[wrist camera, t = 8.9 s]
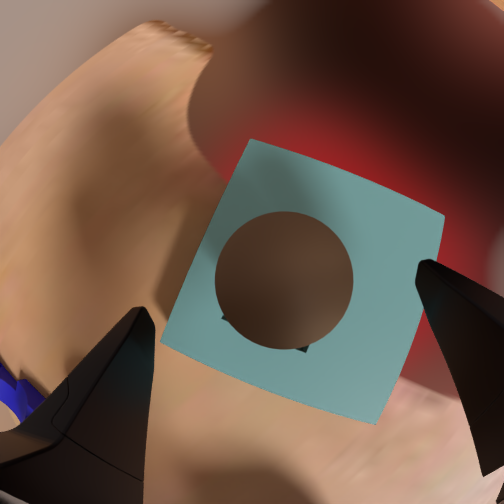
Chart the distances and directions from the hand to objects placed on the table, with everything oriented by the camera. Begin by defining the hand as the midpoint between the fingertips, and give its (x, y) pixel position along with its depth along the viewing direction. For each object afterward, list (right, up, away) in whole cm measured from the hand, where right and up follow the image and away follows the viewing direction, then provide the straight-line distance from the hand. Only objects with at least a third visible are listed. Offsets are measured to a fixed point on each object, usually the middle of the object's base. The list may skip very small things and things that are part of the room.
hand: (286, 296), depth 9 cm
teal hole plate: (+3, -1, +12) cm, 12 cm away
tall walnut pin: (+1, -2, +12) cm, 12 cm away
